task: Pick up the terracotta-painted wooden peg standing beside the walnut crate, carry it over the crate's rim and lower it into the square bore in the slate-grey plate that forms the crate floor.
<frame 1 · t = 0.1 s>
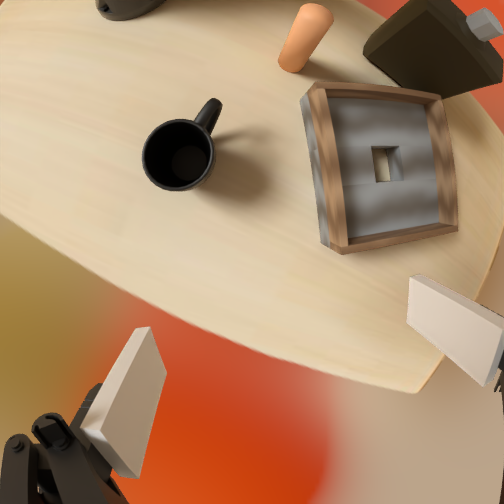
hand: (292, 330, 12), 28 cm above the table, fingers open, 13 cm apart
mug: (197, 152, 36), on the table
crate: (375, 165, 39), on the table
bottle: (399, 70, 35), on the table
peg: (291, 62, 34), on the table
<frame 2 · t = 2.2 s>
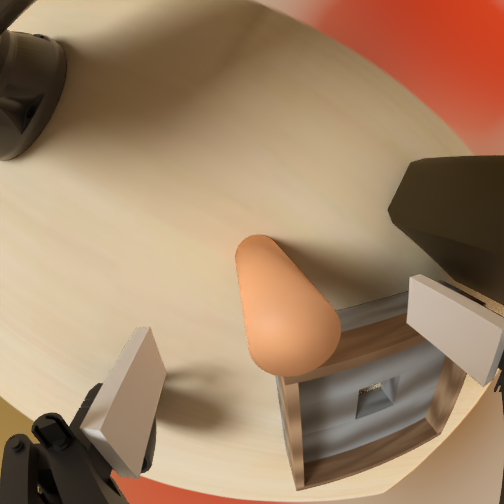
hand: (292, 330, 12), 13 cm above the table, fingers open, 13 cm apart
mug: (137, 386, 27), on the table
crate: (364, 379, 29), on the table
bottle: (437, 223, 26), on the table
peg: (257, 257, 24), on the table
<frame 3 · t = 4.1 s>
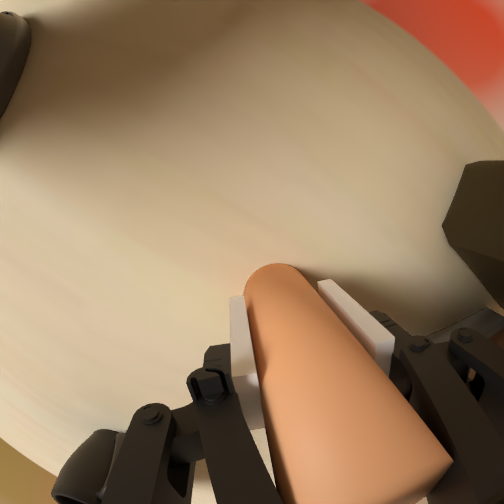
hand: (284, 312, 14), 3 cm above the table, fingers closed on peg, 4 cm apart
mug: (123, 437, 19), on the table
crate: (394, 423, 21), on the table
bottle: (488, 240, 18), on the table
peg: (276, 294, 17), on the table, touching gripper
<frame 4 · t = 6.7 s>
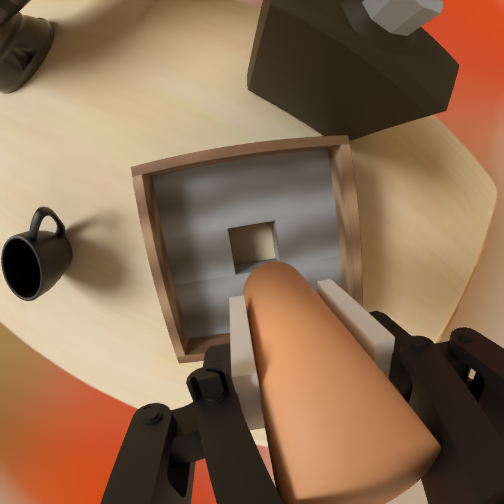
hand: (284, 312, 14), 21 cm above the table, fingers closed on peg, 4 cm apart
mug: (63, 240, 32), on the table
crate: (252, 241, 35), on the table
bottle: (306, 96, 31), on the table
peg: (274, 291, 17), point 18 cm above the table, touching gripper
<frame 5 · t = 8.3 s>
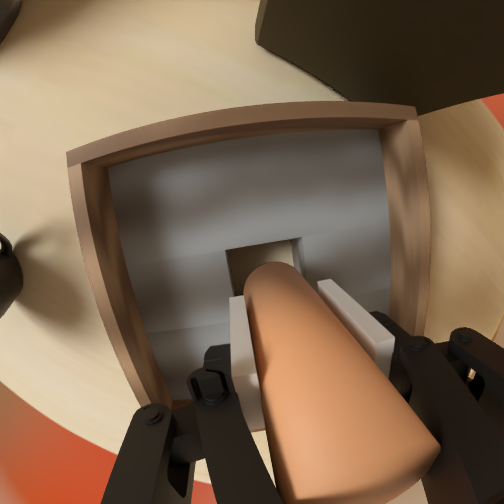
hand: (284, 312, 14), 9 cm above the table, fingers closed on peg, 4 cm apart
mug: (12, 259, 21), on the table
crate: (262, 265, 23), on the table
bottle: (337, 59, 20), on the table
peg: (274, 291, 17), point 6 cm above the table, touching gripper
when the fingers open (6 cm above the table, at t = 9.6 s): peg drops 2 cm, resting in crate.
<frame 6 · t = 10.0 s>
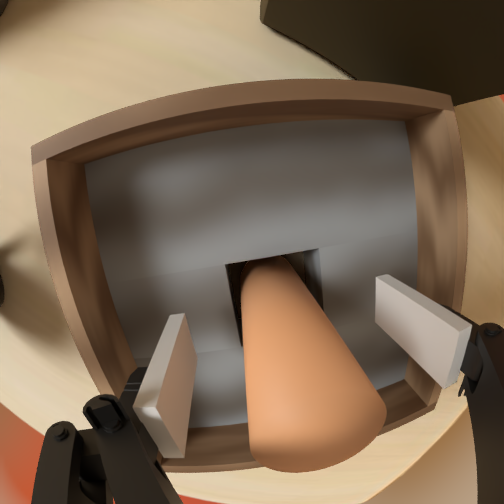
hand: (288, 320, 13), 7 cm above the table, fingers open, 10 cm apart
crate: (269, 279, 20), on the table
bottle: (353, 44, 16), on the table
peg: (267, 280, 20), resting in crate
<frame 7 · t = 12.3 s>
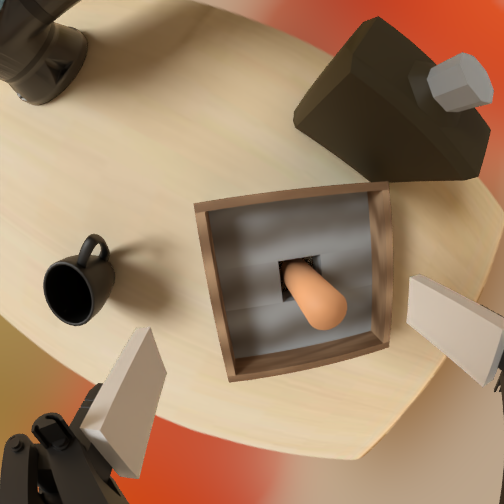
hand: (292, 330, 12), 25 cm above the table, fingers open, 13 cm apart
mug: (104, 263, 36), on the table
crate: (294, 270, 38), on the table
bottle: (346, 135, 35), on the table
peg: (293, 270, 38), resting in crate
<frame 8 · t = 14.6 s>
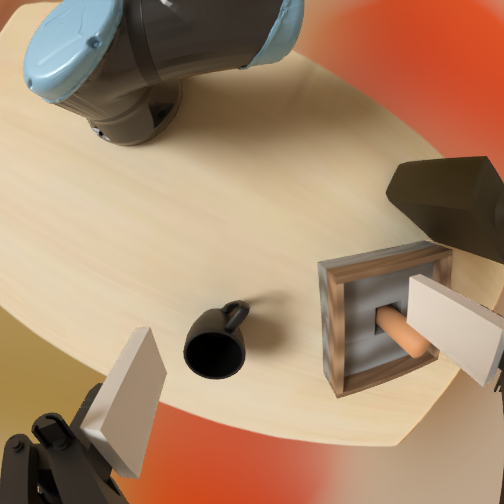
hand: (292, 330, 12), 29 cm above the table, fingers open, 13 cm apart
mug: (222, 314, 43), on the table
crate: (377, 309, 45), on the table
bottle: (418, 202, 42), on the table
peg: (376, 309, 45), resting in crate
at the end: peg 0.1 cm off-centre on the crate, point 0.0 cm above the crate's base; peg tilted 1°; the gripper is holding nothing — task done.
